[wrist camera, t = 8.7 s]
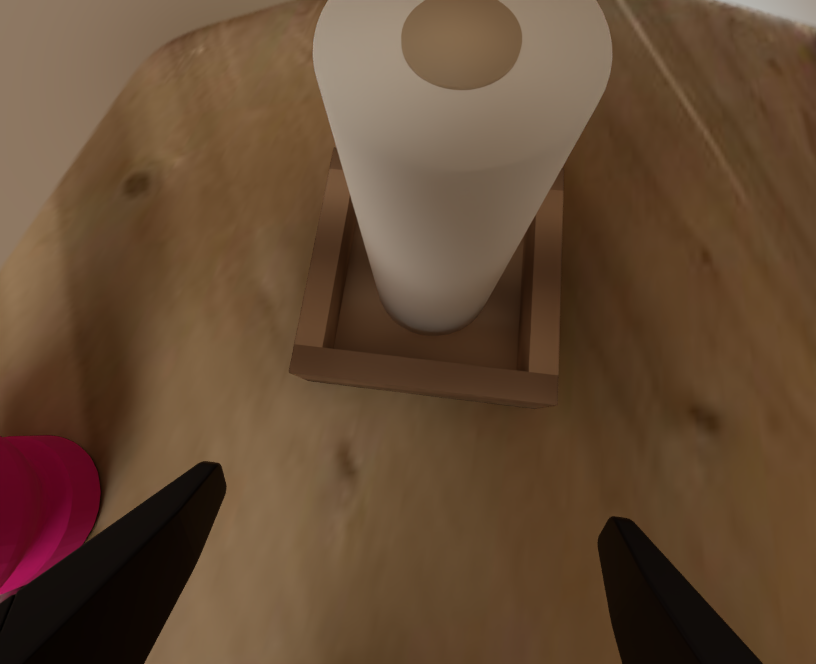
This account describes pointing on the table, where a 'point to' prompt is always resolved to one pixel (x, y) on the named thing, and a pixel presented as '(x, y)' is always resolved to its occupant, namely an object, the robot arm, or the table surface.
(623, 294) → the table surface
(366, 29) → the paper roll
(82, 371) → the table surface
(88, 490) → the pepper mill
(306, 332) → the tray
